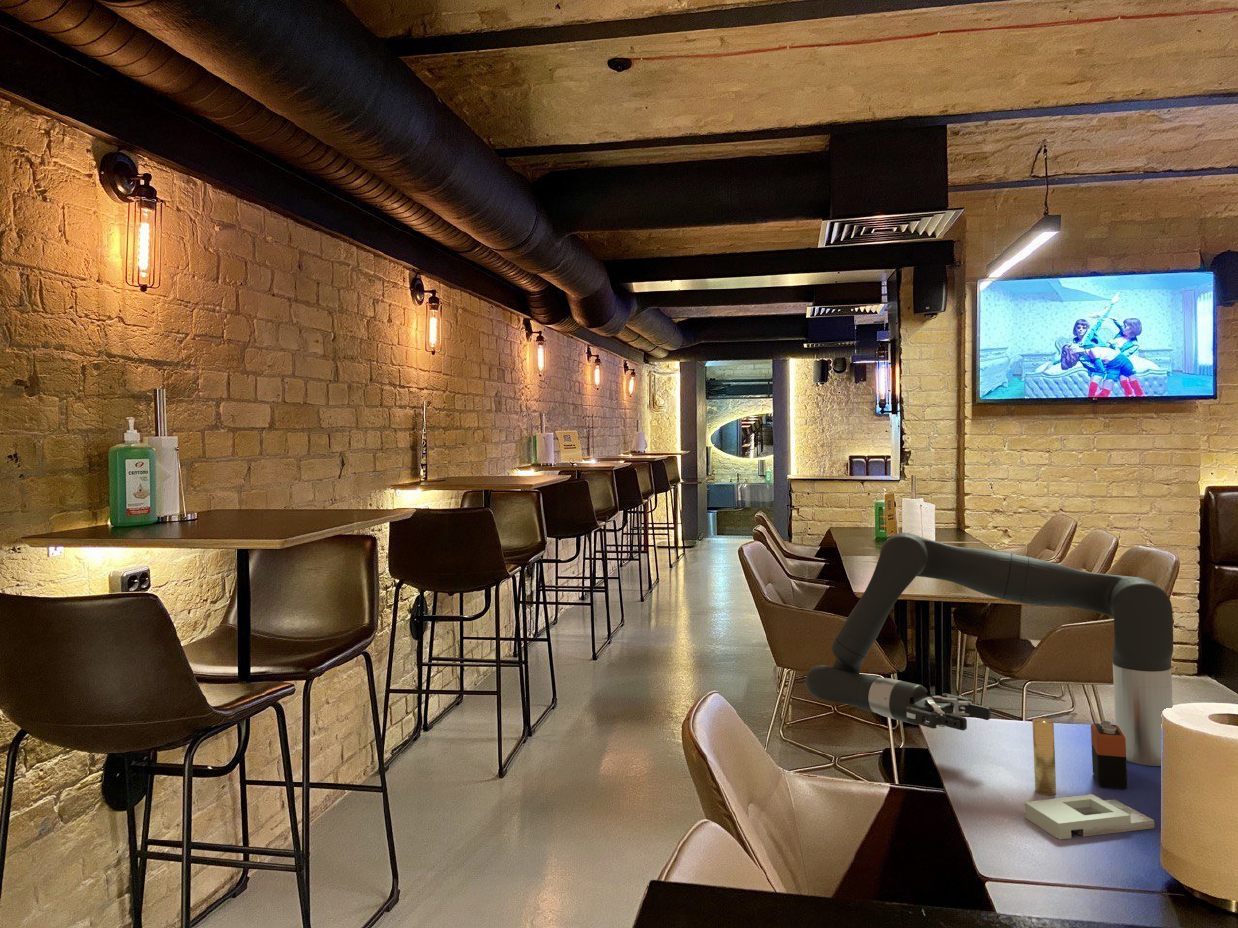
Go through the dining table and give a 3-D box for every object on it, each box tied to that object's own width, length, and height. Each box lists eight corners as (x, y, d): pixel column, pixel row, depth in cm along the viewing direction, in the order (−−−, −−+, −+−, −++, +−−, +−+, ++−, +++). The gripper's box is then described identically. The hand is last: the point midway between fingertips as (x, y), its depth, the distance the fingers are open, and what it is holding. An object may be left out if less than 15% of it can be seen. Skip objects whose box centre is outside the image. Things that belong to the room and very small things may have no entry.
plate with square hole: (1092, 808, 132) (1092, 794, 132) (1131, 830, 124) (1130, 814, 124) (1024, 816, 130) (1024, 801, 130) (1059, 839, 122) (1058, 823, 122)
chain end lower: (1083, 836, 123) (1083, 828, 123) (1047, 814, 131) (1047, 806, 131) (1154, 827, 124) (1154, 820, 124) (1115, 806, 132) (1114, 798, 132)
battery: (1098, 787, 140) (1096, 729, 140) (1092, 773, 146) (1089, 717, 146) (1128, 790, 138) (1125, 731, 138) (1120, 775, 145) (1118, 719, 145)
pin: (1047, 786, 141) (1045, 717, 141) (1060, 794, 138) (1057, 723, 138) (1031, 788, 141) (1028, 718, 141) (1043, 795, 137) (1040, 724, 137)
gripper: (876, 687, 156) (957, 706, 144) (918, 674, 165) (997, 690, 153) (877, 727, 156) (958, 749, 144) (918, 711, 165) (997, 730, 153)
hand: (978, 719), depth 148 cm, fingers open, 8 cm apart
